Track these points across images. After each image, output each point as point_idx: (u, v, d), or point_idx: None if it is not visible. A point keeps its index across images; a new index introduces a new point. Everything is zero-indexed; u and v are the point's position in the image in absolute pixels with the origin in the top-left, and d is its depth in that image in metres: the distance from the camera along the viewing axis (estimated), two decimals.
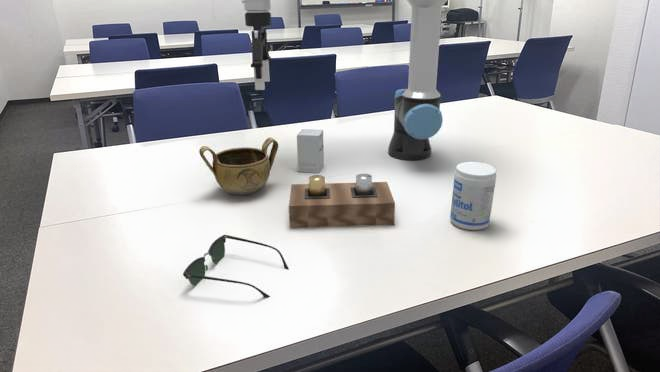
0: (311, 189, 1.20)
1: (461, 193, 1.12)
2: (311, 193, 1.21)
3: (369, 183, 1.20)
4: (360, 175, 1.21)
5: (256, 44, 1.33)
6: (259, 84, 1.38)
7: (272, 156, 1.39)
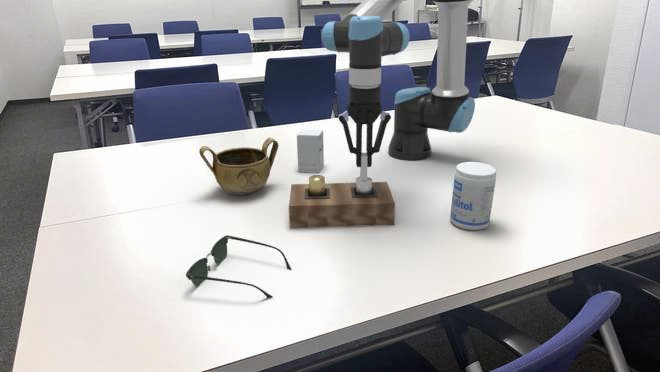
0: (311, 189, 1.20)
1: (461, 193, 1.12)
2: (311, 193, 1.21)
3: (369, 186, 1.20)
4: (360, 178, 1.22)
5: None
6: (360, 172, 1.20)
7: (272, 156, 1.39)
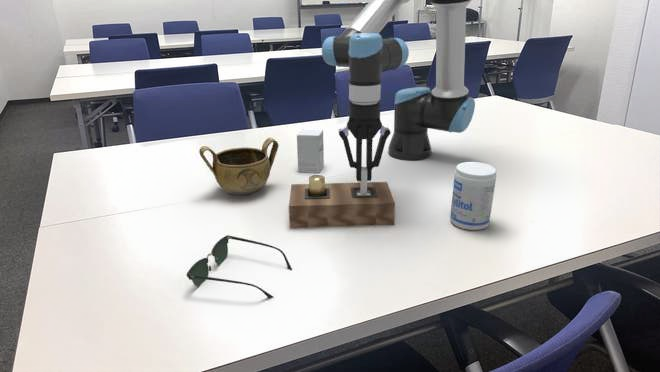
0: (311, 189, 1.20)
1: (461, 193, 1.12)
2: (311, 193, 1.21)
3: None
4: (360, 191, 1.23)
5: None
6: (360, 186, 1.22)
7: (272, 156, 1.39)
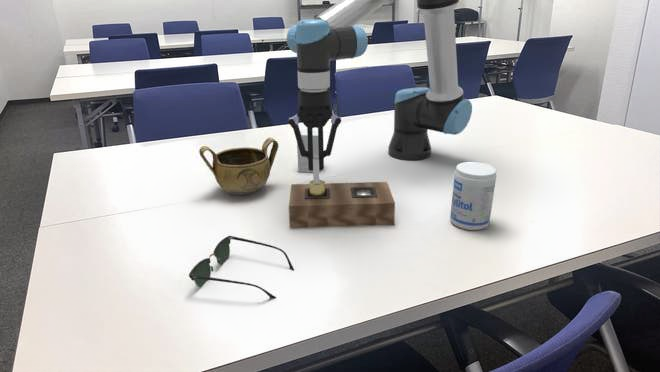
0: (311, 194, 1.21)
1: (461, 193, 1.12)
2: None
3: None
4: (360, 191, 1.23)
5: None
6: None
7: (272, 156, 1.39)
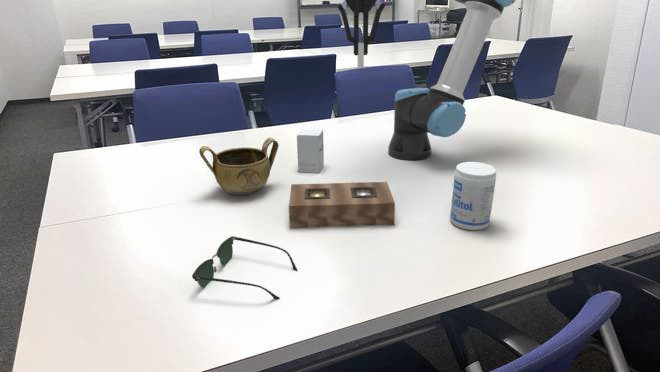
0: None
1: (461, 193, 1.12)
2: None
3: None
4: (360, 191, 1.23)
5: None
6: None
7: (272, 156, 1.39)
